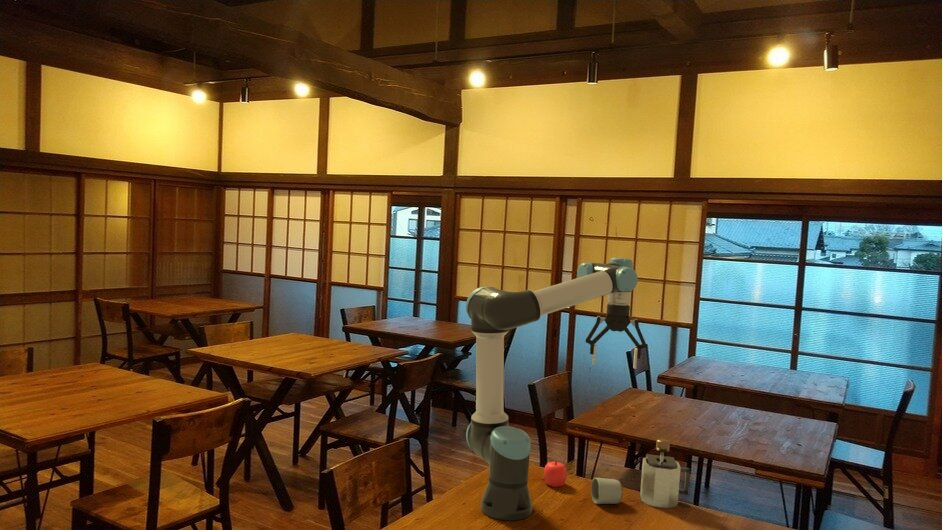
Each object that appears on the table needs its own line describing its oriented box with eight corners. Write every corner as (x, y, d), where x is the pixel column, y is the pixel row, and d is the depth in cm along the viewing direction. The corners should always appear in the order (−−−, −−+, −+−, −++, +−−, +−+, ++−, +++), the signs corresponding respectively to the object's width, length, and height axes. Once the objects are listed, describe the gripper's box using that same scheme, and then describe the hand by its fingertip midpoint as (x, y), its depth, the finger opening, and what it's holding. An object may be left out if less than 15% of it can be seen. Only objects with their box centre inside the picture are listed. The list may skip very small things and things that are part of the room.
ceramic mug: (623, 507, 203) (625, 482, 202) (598, 507, 201) (599, 483, 201) (610, 494, 213) (612, 470, 213) (586, 494, 212) (587, 470, 211)
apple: (538, 480, 221) (540, 456, 220) (561, 479, 223) (562, 456, 222) (547, 489, 213) (549, 465, 213) (570, 488, 215) (572, 464, 215)
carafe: (642, 505, 205) (645, 464, 204) (639, 492, 215) (642, 452, 215) (689, 511, 202) (692, 469, 201) (684, 497, 213) (687, 457, 212)
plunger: (647, 498, 206) (651, 443, 205) (645, 488, 213) (649, 435, 212) (672, 501, 205) (677, 445, 204) (669, 491, 212) (674, 438, 211)
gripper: (581, 302, 221) (576, 364, 222) (658, 307, 217) (653, 371, 218) (581, 299, 229) (577, 360, 230) (655, 305, 224) (651, 367, 226)
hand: (614, 366), depth 224 cm, fingers open, 13 cm apart
